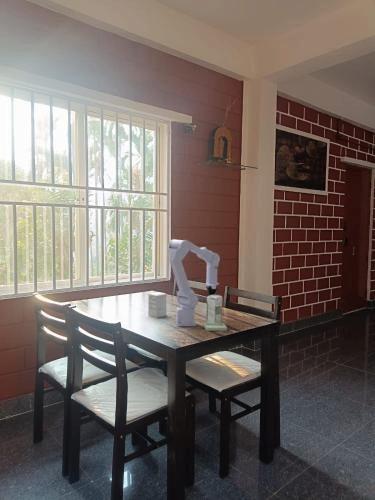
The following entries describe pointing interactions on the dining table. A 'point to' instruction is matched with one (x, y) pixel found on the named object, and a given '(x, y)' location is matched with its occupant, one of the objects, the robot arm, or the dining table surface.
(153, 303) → the supplement box
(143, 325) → the dining table surface
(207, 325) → the tray
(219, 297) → the syrup box
